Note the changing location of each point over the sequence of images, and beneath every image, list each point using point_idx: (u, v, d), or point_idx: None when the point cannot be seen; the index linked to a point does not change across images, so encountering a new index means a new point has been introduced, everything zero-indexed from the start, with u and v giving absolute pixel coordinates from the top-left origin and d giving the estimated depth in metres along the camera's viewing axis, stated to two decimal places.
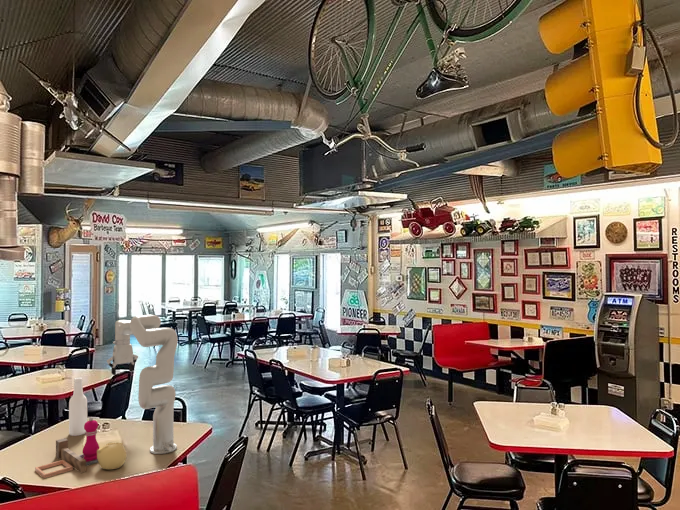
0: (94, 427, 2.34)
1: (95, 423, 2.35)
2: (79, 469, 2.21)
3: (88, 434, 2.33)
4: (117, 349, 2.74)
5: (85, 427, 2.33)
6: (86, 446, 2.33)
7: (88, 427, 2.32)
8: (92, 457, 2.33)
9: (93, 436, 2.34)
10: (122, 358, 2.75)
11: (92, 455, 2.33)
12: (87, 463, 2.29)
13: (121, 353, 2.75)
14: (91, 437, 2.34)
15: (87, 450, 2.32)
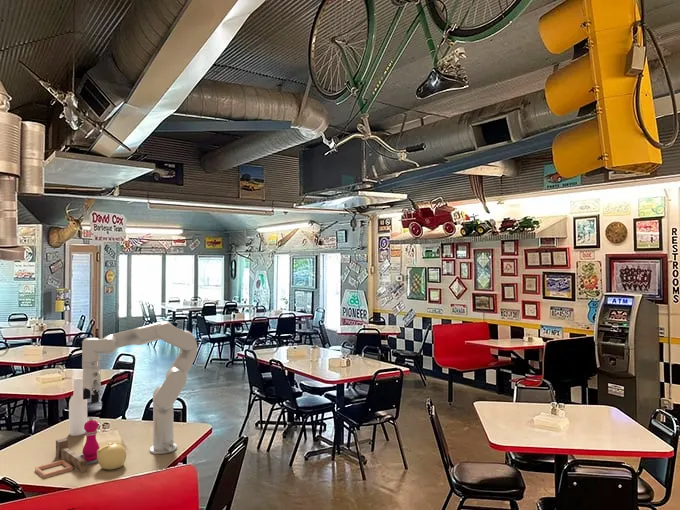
0: (94, 427, 2.34)
1: (95, 423, 2.35)
2: (79, 469, 2.21)
3: (88, 434, 2.33)
4: (99, 371, 2.35)
5: (85, 427, 2.33)
6: (86, 446, 2.33)
7: (88, 427, 2.32)
8: (92, 457, 2.33)
9: (93, 436, 2.34)
10: None
11: (92, 455, 2.33)
12: (87, 463, 2.29)
13: None
14: (91, 437, 2.34)
15: (87, 450, 2.32)
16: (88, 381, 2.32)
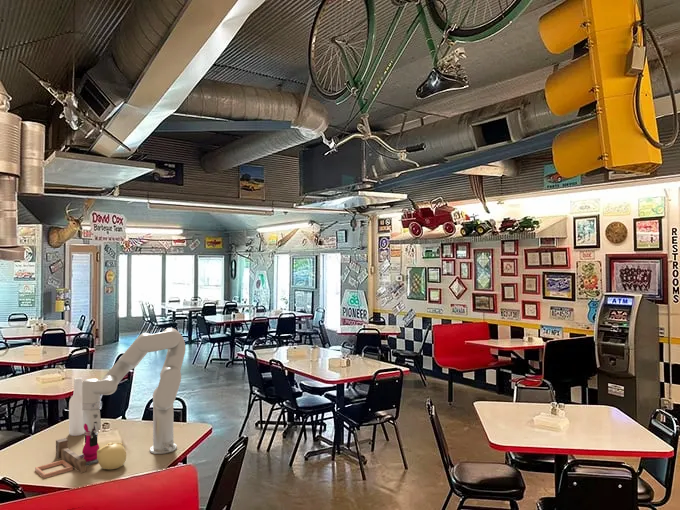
0: None
1: None
2: (79, 469, 2.21)
3: (88, 434, 2.33)
4: (99, 412, 2.35)
5: (85, 427, 2.33)
6: (86, 446, 2.33)
7: (87, 427, 2.33)
8: (92, 457, 2.33)
9: None
10: None
11: (92, 455, 2.33)
12: (87, 463, 2.29)
13: None
14: None
15: (86, 450, 2.32)
16: (88, 423, 2.32)
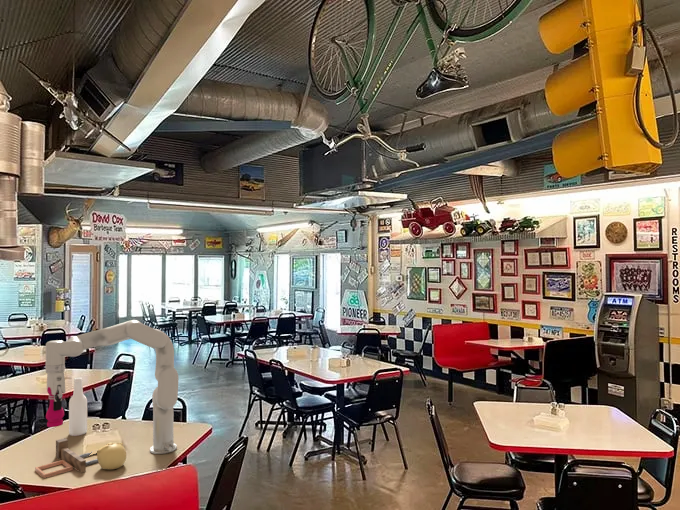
0: None
1: None
2: (79, 469, 2.21)
3: (51, 398, 2.22)
4: None
5: (48, 390, 2.22)
6: (49, 410, 2.21)
7: None
8: (56, 422, 2.22)
9: None
10: None
11: (56, 420, 2.22)
12: (87, 463, 2.29)
13: None
14: None
15: (50, 414, 2.21)
16: (52, 386, 2.20)
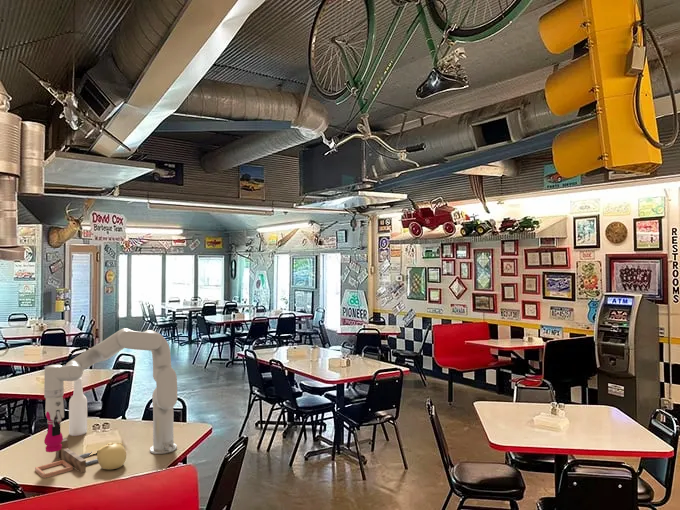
0: None
1: None
2: (79, 469, 2.21)
3: (50, 423, 2.21)
4: (62, 400, 2.23)
5: (47, 415, 2.21)
6: (48, 435, 2.21)
7: (49, 415, 2.21)
8: (54, 447, 2.21)
9: None
10: None
11: (54, 445, 2.21)
12: (87, 463, 2.29)
13: None
14: None
15: (48, 439, 2.20)
16: (50, 411, 2.20)
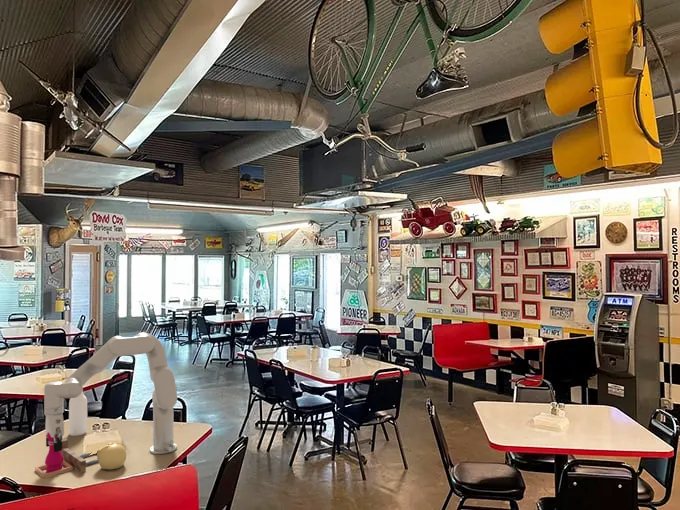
0: None
1: None
2: (79, 469, 2.21)
3: (51, 443, 2.21)
4: None
5: (48, 436, 2.21)
6: (49, 456, 2.21)
7: (50, 436, 2.21)
8: (55, 468, 2.21)
9: None
10: None
11: (55, 465, 2.21)
12: (87, 463, 2.29)
13: None
14: None
15: (49, 460, 2.20)
16: (50, 428, 2.20)
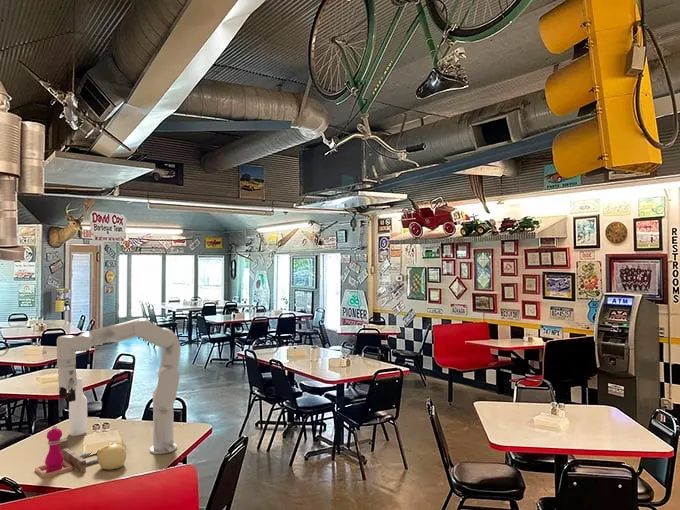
0: (57, 436, 2.22)
1: (59, 432, 2.23)
2: (79, 469, 2.21)
3: (51, 443, 2.21)
4: (75, 369, 2.30)
5: (48, 436, 2.21)
6: (49, 456, 2.21)
7: (50, 436, 2.21)
8: (55, 468, 2.21)
9: (56, 445, 2.23)
10: None
11: (55, 465, 2.21)
12: (87, 463, 2.29)
13: None
14: (54, 446, 2.22)
15: (49, 460, 2.20)
16: (64, 379, 2.27)
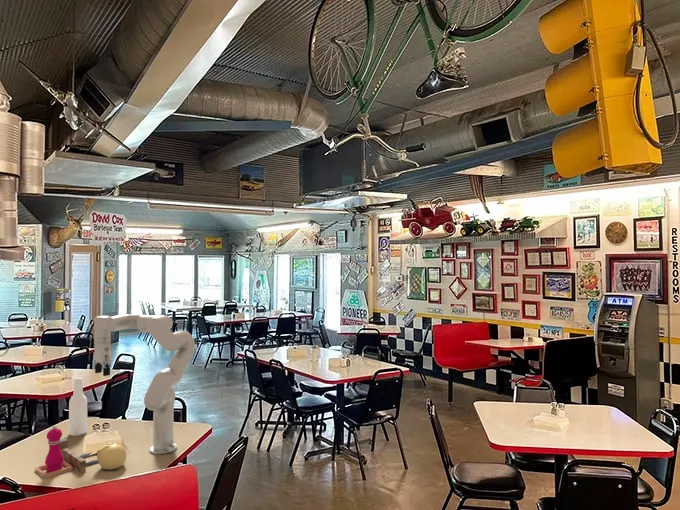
0: (57, 436, 2.22)
1: (59, 432, 2.23)
2: (79, 469, 2.21)
3: (51, 443, 2.21)
4: (110, 346, 2.52)
5: (48, 436, 2.21)
6: (49, 456, 2.21)
7: (50, 436, 2.21)
8: (55, 468, 2.21)
9: (56, 445, 2.23)
10: None
11: (55, 465, 2.21)
12: (87, 463, 2.29)
13: None
14: (54, 446, 2.22)
15: (49, 460, 2.20)
16: (100, 355, 2.50)
